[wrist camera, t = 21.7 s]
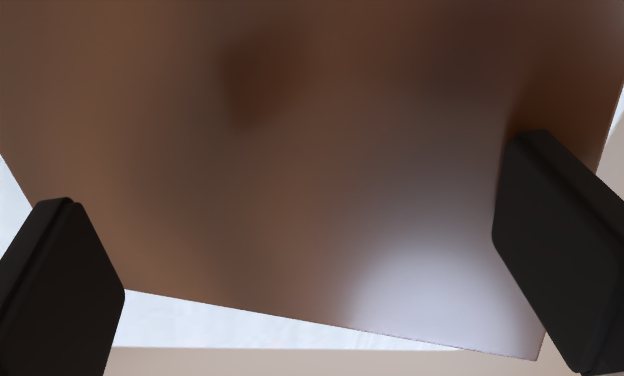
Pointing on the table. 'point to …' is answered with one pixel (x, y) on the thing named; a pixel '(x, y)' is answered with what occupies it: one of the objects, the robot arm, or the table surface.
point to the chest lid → (307, 146)
